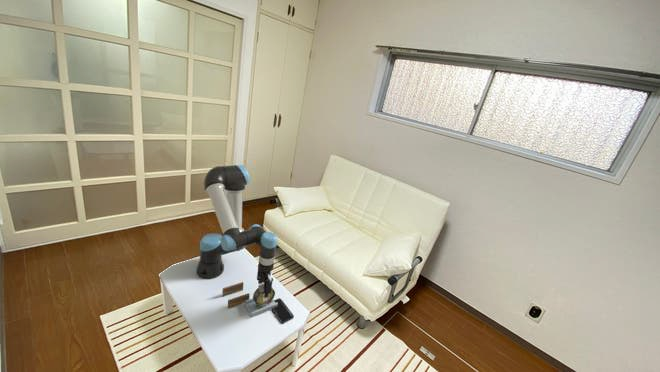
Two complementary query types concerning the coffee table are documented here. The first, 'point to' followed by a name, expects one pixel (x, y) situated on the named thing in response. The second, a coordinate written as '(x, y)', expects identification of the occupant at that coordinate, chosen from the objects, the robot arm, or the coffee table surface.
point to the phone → (282, 311)
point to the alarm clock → (259, 293)
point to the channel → (237, 300)
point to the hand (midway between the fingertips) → (262, 296)
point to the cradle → (258, 307)
